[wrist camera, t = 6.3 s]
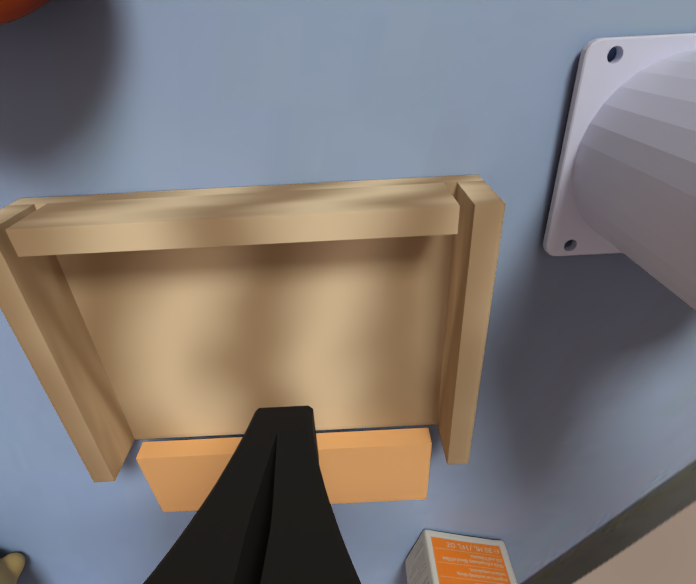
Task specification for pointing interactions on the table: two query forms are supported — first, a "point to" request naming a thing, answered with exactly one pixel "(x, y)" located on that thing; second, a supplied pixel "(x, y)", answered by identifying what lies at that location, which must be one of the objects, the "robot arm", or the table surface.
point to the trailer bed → (254, 307)
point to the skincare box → (458, 560)
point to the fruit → (18, 8)
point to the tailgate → (334, 460)
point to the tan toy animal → (11, 568)
